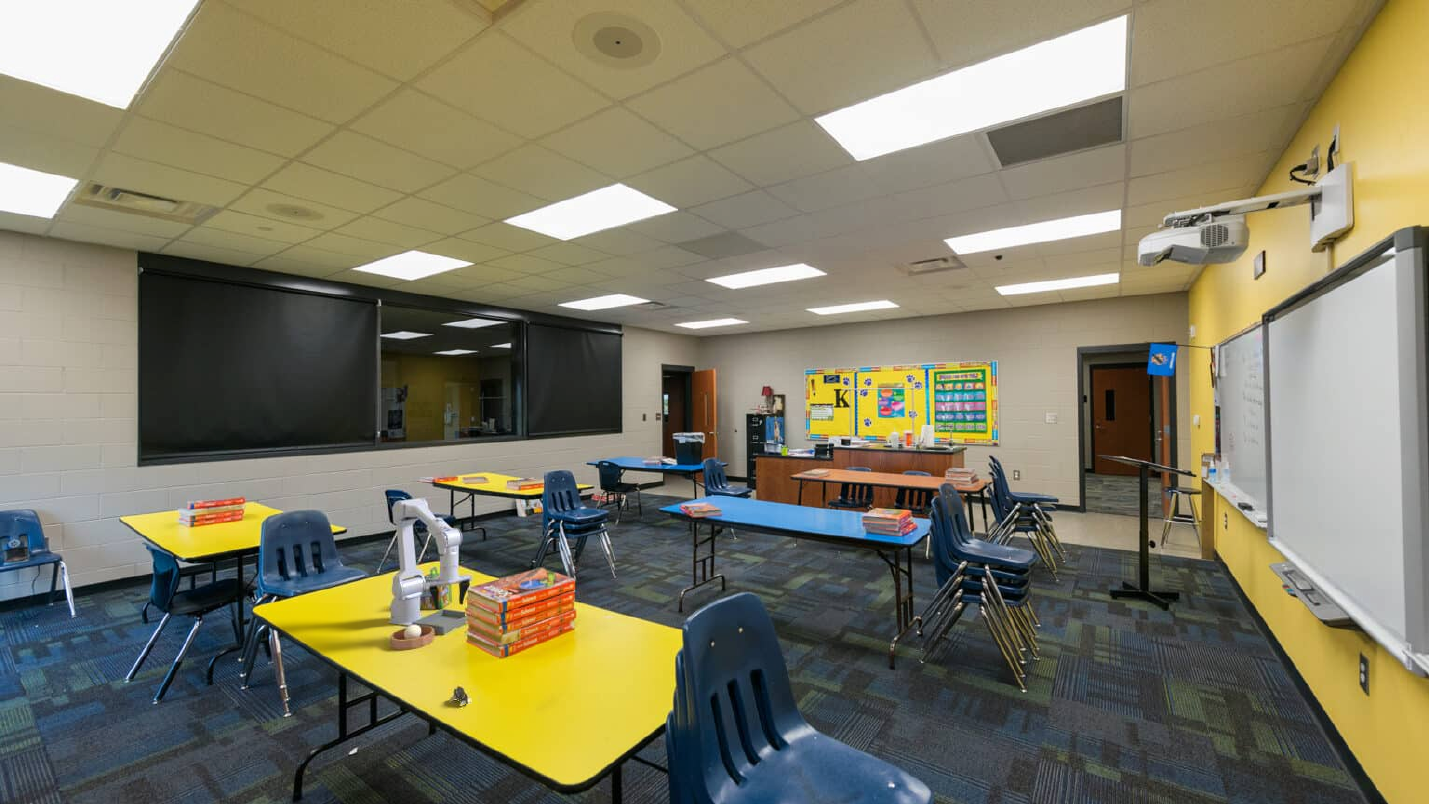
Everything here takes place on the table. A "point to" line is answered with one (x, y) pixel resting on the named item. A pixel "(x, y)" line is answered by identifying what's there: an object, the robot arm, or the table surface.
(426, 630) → the bowl
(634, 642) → the table surface
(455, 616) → the tray
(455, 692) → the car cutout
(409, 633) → the ball
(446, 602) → the chalk box
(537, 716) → the table surface
